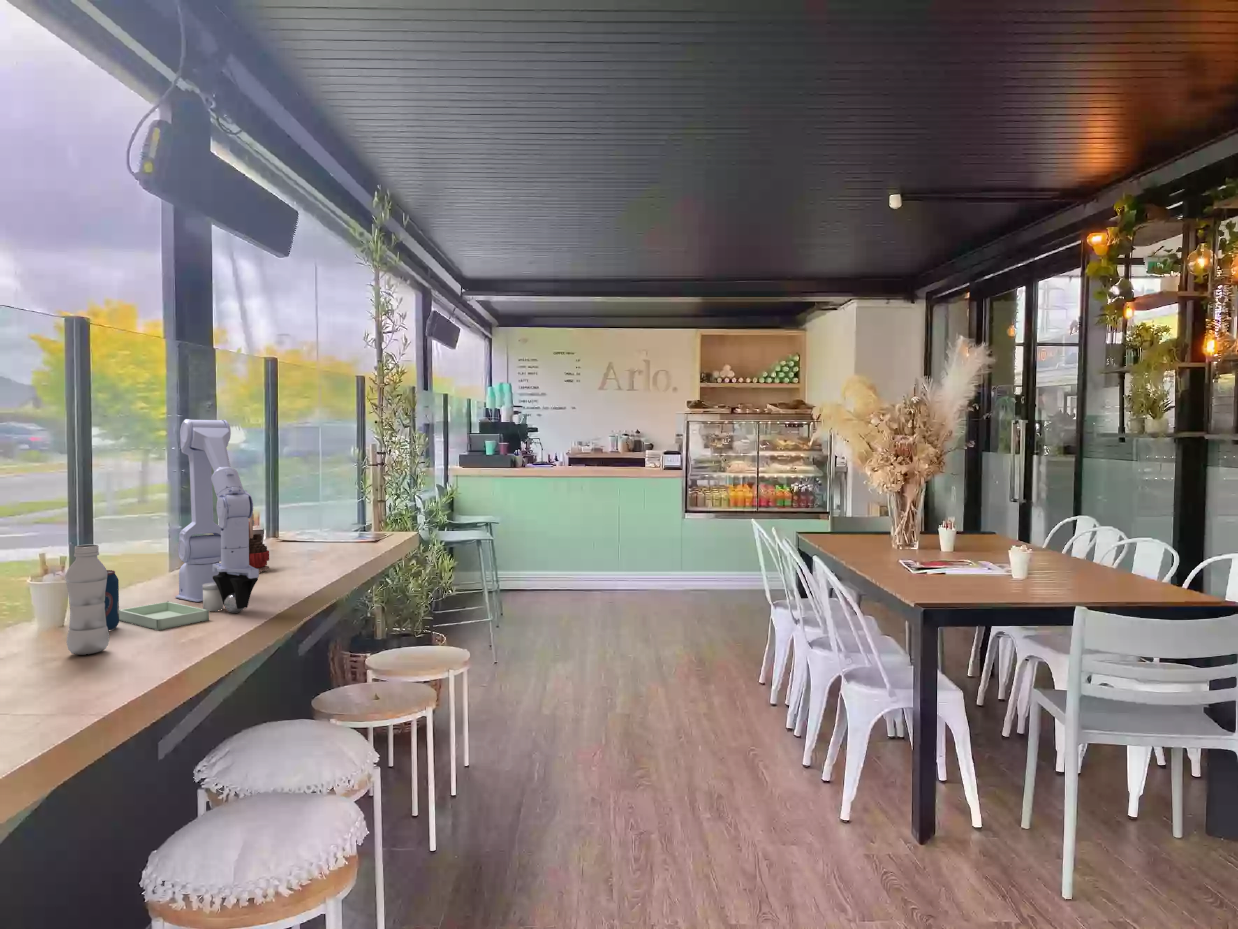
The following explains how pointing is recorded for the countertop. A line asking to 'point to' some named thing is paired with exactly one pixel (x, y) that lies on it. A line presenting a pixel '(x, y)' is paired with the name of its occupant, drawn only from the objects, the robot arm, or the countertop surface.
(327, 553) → the countertop surface
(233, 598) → the ball
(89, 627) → the plastic bottle
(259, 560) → the cake
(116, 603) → the soda can
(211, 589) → the shaker
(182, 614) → the tray
